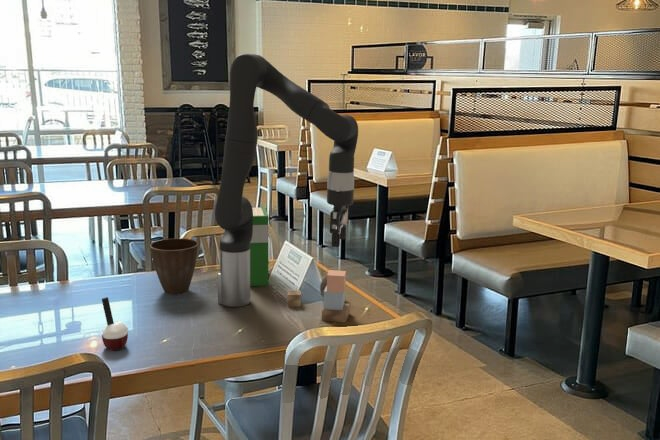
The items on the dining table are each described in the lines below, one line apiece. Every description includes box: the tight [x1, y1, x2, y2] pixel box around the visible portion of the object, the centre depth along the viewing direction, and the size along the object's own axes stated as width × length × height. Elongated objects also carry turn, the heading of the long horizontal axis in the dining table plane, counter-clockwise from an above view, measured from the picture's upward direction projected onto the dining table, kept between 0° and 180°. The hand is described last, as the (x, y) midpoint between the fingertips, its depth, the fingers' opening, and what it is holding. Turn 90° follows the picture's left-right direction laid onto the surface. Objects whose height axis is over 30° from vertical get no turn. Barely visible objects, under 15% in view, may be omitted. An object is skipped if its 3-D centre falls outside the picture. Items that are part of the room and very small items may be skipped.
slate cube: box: [322, 286, 346, 311], centre depth 184 cm, size 6×6×6 cm
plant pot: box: [149, 238, 199, 296], centre depth 201 cm, size 15×15×16 cm
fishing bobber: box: [101, 297, 129, 351], centre depth 160 cm, size 10×6×12 cm, turn 22°
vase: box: [319, 272, 328, 299], centre depth 198 cm, size 7×7×9 cm
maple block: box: [286, 289, 302, 308], centre depth 193 cm, size 4×4×4 cm
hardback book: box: [250, 204, 269, 287], centre depth 216 cm, size 18×7×24 cm, turn 11°
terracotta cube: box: [326, 269, 347, 293], centre depth 182 cm, size 5×5×5 cm
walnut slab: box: [321, 303, 351, 323], centre depth 184 cm, size 7×7×4 cm
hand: (338, 242), depth 179 cm, fingers open, 8 cm apart
